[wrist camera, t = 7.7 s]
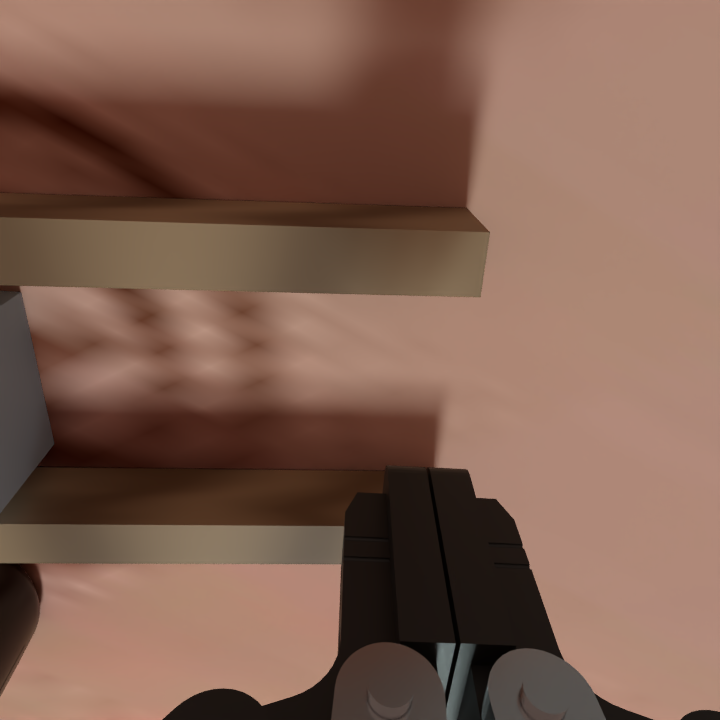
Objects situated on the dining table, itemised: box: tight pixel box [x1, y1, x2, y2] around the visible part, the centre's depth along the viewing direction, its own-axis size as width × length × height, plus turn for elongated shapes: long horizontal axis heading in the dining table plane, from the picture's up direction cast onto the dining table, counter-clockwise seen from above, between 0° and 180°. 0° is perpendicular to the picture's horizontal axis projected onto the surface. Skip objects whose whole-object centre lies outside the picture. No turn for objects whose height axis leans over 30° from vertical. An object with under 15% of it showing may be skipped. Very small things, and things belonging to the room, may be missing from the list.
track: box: [0, 193, 490, 564], centre depth 14 cm, size 20×10×4 cm, turn 88°
